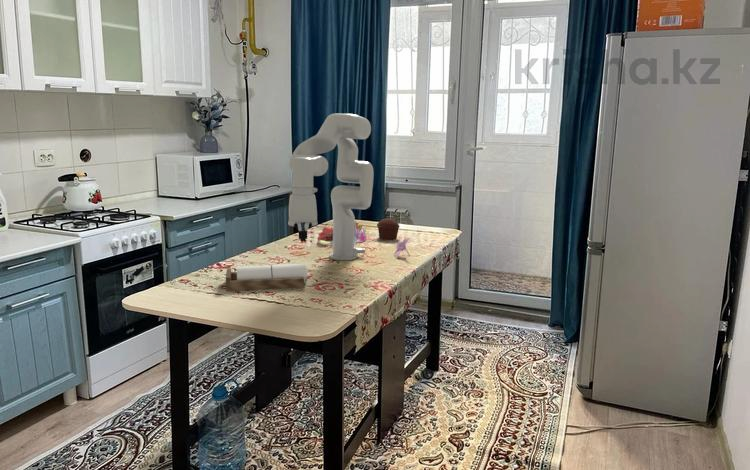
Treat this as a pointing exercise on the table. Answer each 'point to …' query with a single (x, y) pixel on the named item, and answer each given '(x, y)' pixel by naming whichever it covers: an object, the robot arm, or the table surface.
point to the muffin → (388, 229)
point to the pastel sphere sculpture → (327, 235)
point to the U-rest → (260, 283)
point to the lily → (401, 247)
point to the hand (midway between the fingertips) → (302, 240)
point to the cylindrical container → (272, 272)
